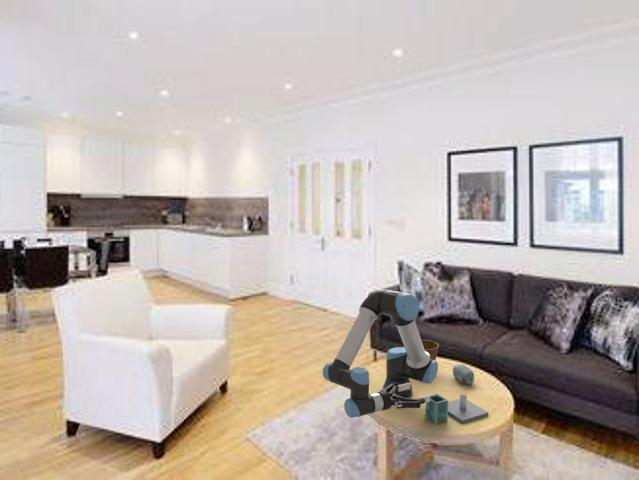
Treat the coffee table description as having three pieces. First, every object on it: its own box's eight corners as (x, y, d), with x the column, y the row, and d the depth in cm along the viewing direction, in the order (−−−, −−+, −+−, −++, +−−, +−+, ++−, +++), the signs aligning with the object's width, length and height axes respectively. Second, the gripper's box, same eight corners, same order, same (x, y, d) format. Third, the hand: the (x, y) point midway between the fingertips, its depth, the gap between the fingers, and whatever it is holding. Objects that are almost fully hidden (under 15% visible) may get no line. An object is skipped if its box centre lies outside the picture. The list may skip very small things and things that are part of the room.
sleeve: (425, 417, 203) (425, 397, 202) (437, 414, 206) (437, 393, 205) (435, 424, 197) (436, 403, 196) (447, 421, 200) (448, 400, 199)
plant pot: (406, 368, 258) (406, 342, 256) (427, 364, 264) (427, 338, 262) (422, 378, 245) (422, 350, 243) (443, 373, 251) (444, 346, 249)
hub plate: (438, 407, 212) (438, 389, 211) (463, 400, 219) (463, 383, 218) (462, 423, 198) (462, 404, 197) (488, 415, 205) (489, 396, 203)
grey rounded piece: (481, 380, 234) (471, 363, 235) (466, 389, 233) (457, 373, 233) (469, 375, 248) (460, 359, 248) (455, 384, 246) (446, 368, 247)
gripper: (363, 397, 197) (402, 388, 206) (396, 423, 175) (438, 412, 184) (363, 381, 196) (402, 373, 206) (396, 405, 174) (438, 395, 183)
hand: (419, 391), depth 195 cm, fingers open, 13 cm apart
